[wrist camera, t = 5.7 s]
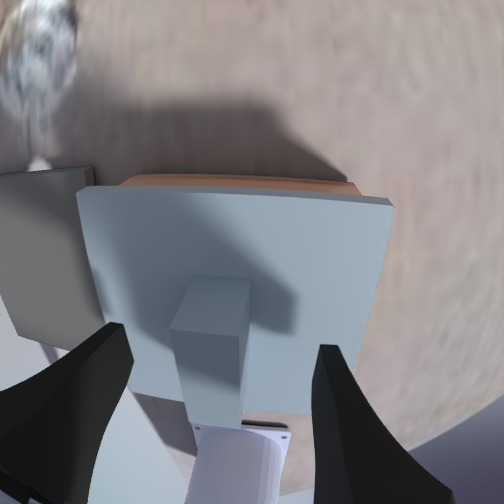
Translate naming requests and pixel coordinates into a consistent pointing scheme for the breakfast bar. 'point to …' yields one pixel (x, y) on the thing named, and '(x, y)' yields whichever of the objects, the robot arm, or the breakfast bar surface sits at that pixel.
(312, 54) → the breakfast bar surface
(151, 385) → the lid
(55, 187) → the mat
